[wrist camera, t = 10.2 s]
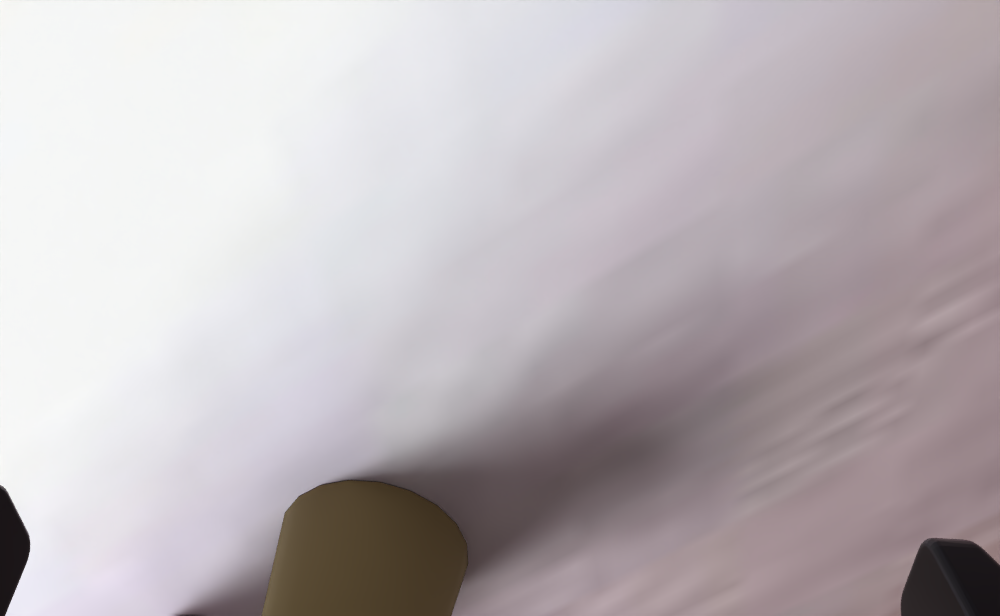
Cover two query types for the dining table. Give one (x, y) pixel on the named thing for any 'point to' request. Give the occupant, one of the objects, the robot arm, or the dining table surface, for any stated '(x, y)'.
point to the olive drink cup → (365, 554)
